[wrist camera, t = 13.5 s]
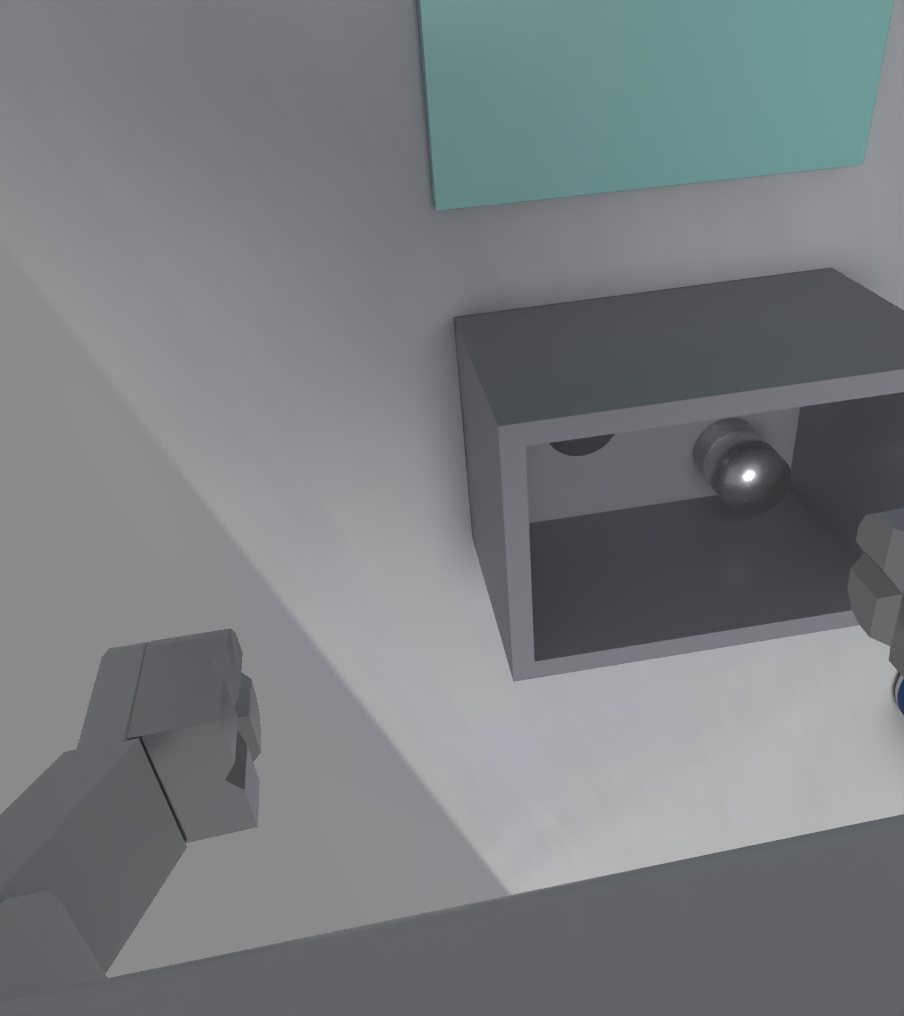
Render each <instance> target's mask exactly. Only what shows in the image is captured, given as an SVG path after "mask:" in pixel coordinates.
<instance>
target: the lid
mask: <svg viewBox="0 0 904 1016" xmlns="http://www.w3.org/2000/svg"><path fill="white" fill-rule="evenodd" d="M893 1H894V0H417V7H418V19H419V32H420V45H421V57H422V70H423V82H424V95H425V108H426V120H427V133H428V145H429V158H430V171H431V183H432V196H433V205H434V207H435V209H436V211H440V210H449V209H458V208H467V207H477V206H486V205H495V204H504V203H514V202H523V201H532V200H541V199H551V198H560V197H569V196H578V195H588V194H597V193H606V192H615V191H625V190H634V189H643V188H652V187H662V186H671V185H680V184H689V183H699V182H708V181H717V180H726V179H735V178H745V177H754V176H763V175H772V174H782V173H791V172H800V171H809V170H819V169H828V168H837V167H846V166H856V165H863V162H864V157H865V152H866V146H867V141H868V136H869V130H870V125H871V119H872V114H873V109H874V103H875V98H876V93H877V87H878V82H879V77H880V71H881V66H882V60H883V55H884V50H885V44H886V39H887V34H888V28H889V23H890V17H891V12H892V7H893Z"/></svg>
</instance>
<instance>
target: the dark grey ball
mask: <svg viewBox="0 0 904 1016" xmlns="http://www.w3.org/2000/svg"><path fill="white" fill-rule="evenodd" d="M613 436H614V434H608V435H601V436H594V437H587V438H580V439H573V440H566V441H559V442H552V443H549V444H550V445H551V446H552V447H553V448H554V449H555V450H557V451H558V452H560V453H562V454H565V455H569V456H583V455H588V454H591V453H593V452H596V451H598V450H599V449H601V448H602V447H604V446H605V445H606V444H607V443H608V442H609V441H610V440H611V439H612V437H613Z"/></svg>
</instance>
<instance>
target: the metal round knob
mask: <svg viewBox="0 0 904 1016" xmlns="http://www.w3.org/2000/svg"><path fill="white" fill-rule="evenodd" d="M693 461H694V464H695V466H696V467H697V469H698V470H699V471H700V473H701V474H702V475H703V476H704V478H705V479H706V480H707V482H708V483H709V484H710V486H711V487H712V488H713V490H714V491H715V492H716V493H717V495H718V496H719V497H720V499H721V500H722V501H723V503H724V504H725V505H726V507H727V508H728V509H729V510H730V511H732V512H733V513H736V514H738V515H743V516H752V515H757V514H760V513H763V512H766V511H768V510H769V509H771V508H773V507H774V506H775V505H777V504H778V503H779V502H780V501H781V500H782V499H783V497H784V496H785V495H786V493H787V491H788V489H789V487H790V484H791V478H792V475H791V469H790V467H789V465H788V463H787V462H786V461H785V460H784V459H783V458H782V457H781V456H780V455H779V454H778V453H777V452H776V451H775V450H774V449H773V447H772V446H771V445H770V444H769V443H768V442H767V441H766V440H765V439H764V438H763V437H762V436H761V435H760V434H759V433H758V432H757V431H756V430H755V429H754V427H753V426H752V425H751V424H750V423H748V422H747V421H745V420H742V419H739V418H727V419H722V420H719V421H717V422H715V423H713V424H711V425H710V426H708V427H707V428H706V429H705V430H704V431H703V432H702V433H701V434H700V436H699V437H698V438H697V440H696V442H695V445H694V448H693Z"/></svg>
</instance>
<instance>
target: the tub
mask: <svg viewBox="0 0 904 1016" xmlns="http://www.w3.org/2000/svg"><path fill="white" fill-rule="evenodd" d="M454 326H455V338H456V349H457V361H458V373H459V385H460V396H461V408H462V420H463V432H464V443H465V455H466V467H467V479H468V490H469V502H470V514H471V525H472V537H473V541H474V545H475V548H476V552H477V555H478V559H479V562H480V566H481V569H482V573H483V576H484V580H485V583H486V587H487V590H488V594H489V597H490V601H491V604H492V608H493V611H494V615H495V618H496V622H497V625H498V629H499V632H500V636H501V639H502V643H503V646H504V650H505V653H506V657H507V660H508V664H509V667H510V671H511V674H512V678H513V681H520V680H526V679H532V678H538V677H544V676H551V675H557V674H563V673H569V672H575V671H581V670H587V669H593V668H599V667H606V666H612V665H618V664H624V663H630V662H636V661H642V660H648V659H655V658H661V657H667V656H673V655H679V654H685V653H691V652H697V651H703V650H710V649H716V648H722V647H728V646H734V645H740V644H746V643H752V642H758V641H765V640H771V639H777V638H783V637H789V636H795V635H801V634H807V633H813V632H820V631H826V630H832V629H838V628H844V627H850V626H856V625H859V623H858V621H857V619H856V617H855V615H854V613H853V611H852V609H851V605H850V600H849V595H848V590H847V588H848V581H849V574H850V568H851V567H852V566H853V565H854V564H855V562H856V561H857V560H858V559H859V558H860V557H861V556H862V554H863V553H864V551H863V550H862V549H861V547H860V546H859V545H858V543H857V542H856V537H857V532H858V528H859V524H860V523H861V521H862V520H863V518H864V517H865V515H867V514H873V513H878V512H883V511H889V510H894V509H900V508H904V310H902V309H900V308H898V307H897V306H895V305H893V304H892V303H890V302H888V301H887V300H885V299H883V298H882V297H880V296H878V295H877V294H875V293H873V292H872V291H870V290H868V289H866V288H865V287H863V286H861V285H860V284H858V283H856V282H855V281H853V280H851V279H850V278H848V277H846V276H845V275H843V274H841V273H840V272H838V271H836V270H835V269H833V268H827V269H819V270H812V271H804V272H796V273H789V274H781V275H774V276H766V277H758V278H751V279H743V280H735V281H728V282H720V283H713V284H705V285H697V286H690V287H682V288H675V289H667V290H659V291H652V292H644V293H636V294H629V295H621V296H614V297H606V298H598V299H591V300H583V301H576V302H568V303H560V304H553V305H545V306H537V307H530V308H522V309H515V310H507V311H499V312H492V313H484V314H477V315H469V316H461V317H454ZM727 418H739V419H742V420H745V421H747V422H748V423H750V424H751V425H752V426H753V427H754V429H755V430H756V431H757V432H758V433H759V434H760V435H761V436H762V437H763V438H764V439H765V440H766V441H767V442H768V443H769V444H770V445H771V446H772V447H773V449H774V450H775V451H776V452H777V453H778V454H779V455H780V456H781V457H782V458H783V459H784V460H785V461H786V462H787V463H788V465H789V467H790V469H791V475H792V478H791V484H790V487H789V489H788V491H787V493H786V495H785V496H784V497H783V499H782V500H781V501H780V502H779V503H778V504H777V505H775V506H774V507H773V508H771V509H769V510H768V511H766V512H763V513H760V514H757V515H752V516H743V515H738V514H736V513H733V512H732V511H730V510H729V509H728V508H727V507H726V505H725V504H724V503H723V501H722V500H721V499H720V497H719V496H718V495H717V493H716V492H715V491H714V490H713V488H712V487H711V486H710V484H709V483H708V482H707V480H706V479H705V478H704V476H703V475H702V474H701V473H700V471H699V470H698V469H697V467H696V466H695V464H694V461H693V448H694V445H695V442H696V440H697V438H698V437H699V436H700V434H701V433H702V432H703V431H704V430H705V429H706V428H707V427H708V426H710V425H711V424H713V423H715V422H717V421H719V420H722V419H727ZM608 434H614V436H613V437H612V439H611V440H610V441H609V442H608V443H607V444H606V445H605V446H604V447H602V448H601V449H599V450H598V451H596V452H593V453H591V454H588V455H583V456H569V455H565V454H562V453H560V452H558V451H557V450H555V449H554V448H553V447H552V446H551V445H550V444H549V443H552V442H559V441H566V440H573V439H580V438H587V437H594V436H601V435H608Z"/></svg>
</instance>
